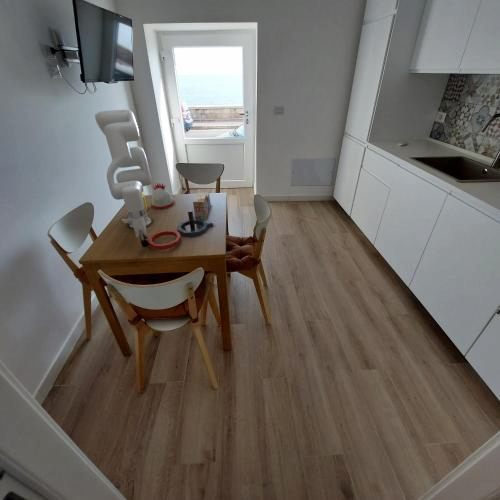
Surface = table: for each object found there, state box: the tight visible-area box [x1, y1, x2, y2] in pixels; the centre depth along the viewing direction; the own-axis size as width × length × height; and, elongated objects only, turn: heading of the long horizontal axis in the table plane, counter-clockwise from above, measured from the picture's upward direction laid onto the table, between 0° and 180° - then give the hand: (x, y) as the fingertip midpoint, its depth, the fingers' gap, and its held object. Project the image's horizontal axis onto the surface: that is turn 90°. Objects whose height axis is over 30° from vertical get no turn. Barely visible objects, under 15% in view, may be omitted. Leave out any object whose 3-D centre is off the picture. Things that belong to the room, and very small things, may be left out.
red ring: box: [148, 229, 182, 251], centre depth 140 cm, size 19×16×2 cm
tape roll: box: [142, 193, 149, 212], centre depth 175 cm, size 10×10×9 cm
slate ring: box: [177, 218, 214, 238], centre depth 154 cm, size 19×16×2 cm
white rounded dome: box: [151, 182, 174, 210], centre depth 179 cm, size 14×14×15 cm
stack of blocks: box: [192, 191, 211, 221], centre depth 168 cm, size 21×6×12 cm, turn 179°
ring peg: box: [184, 209, 202, 231], centre depth 151 cm, size 8×8×12 cm
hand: (145, 245), depth 138 cm, fingers closed on red ring, 2 cm apart
